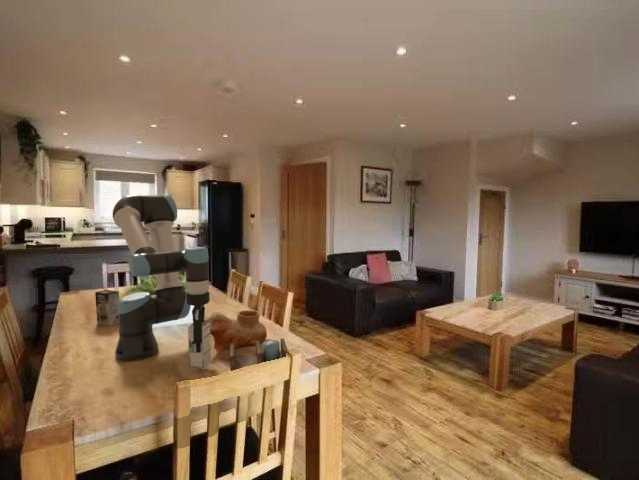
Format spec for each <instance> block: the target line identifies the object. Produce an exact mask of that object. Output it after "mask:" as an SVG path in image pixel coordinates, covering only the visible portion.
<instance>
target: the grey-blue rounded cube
mask: <svg viewBox="0 0 639 480" xmlns="http://www.w3.org/2000/svg"><path fill="white" fill-rule="evenodd" d="M262 351H263V352H262V353H263V360H264V361H271V360H275V359H279V358H280V351H281V344H280V341H279V340H276V339H267V340H264V341H262Z"/></svg>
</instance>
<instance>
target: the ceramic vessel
mask: <svg viewBox="0 0 639 480" xmlns="http://www.w3.org/2000/svg"><path fill="white" fill-rule="evenodd" d="M236 315H237V316H236V318H235V319H232V318H229V317H228V316H226V315H225V314H223V313H222V312H219V311H213V312H212V313H211V314H210V316H209V317H208V318H204V322H205V323H210V336H212V337H213V339H214V340H213V341H214V344H213V345H214V346H213V347H214V350H215V351H216V352H218V350H220V351H224V350H230V343H234V350H235V349H239V348H244V347H253V346H256V341H259V344H261V343H263V342H265V341H266V339H267V337H268V334H267V332H268V331H267V327H265V325H264V324H263V323H262V322H260V320H259V319H260V312H259V311H257V310H248V309H247V310H246V309H245V310H240V311H238V312H237V314H236Z"/></svg>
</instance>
